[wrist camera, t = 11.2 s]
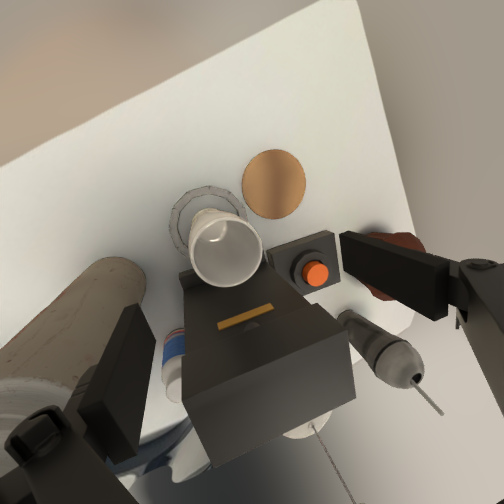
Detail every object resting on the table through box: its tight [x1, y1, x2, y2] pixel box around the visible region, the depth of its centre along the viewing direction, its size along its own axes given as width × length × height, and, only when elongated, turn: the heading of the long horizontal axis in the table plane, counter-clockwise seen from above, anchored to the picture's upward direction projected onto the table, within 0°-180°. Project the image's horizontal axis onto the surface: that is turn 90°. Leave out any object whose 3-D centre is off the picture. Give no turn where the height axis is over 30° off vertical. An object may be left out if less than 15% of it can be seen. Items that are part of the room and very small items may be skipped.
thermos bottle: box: [0, 257, 146, 477], centre depth 21 cm, size 8×8×28 cm
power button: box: [302, 261, 328, 286], centre depth 37 cm, size 4×4×2 cm
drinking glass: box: [188, 208, 263, 287], centre depth 29 cm, size 7×7×15 cm
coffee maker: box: [169, 186, 356, 468], centre depth 27 cm, size 13×22×22 cm, turn 15°
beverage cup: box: [337, 310, 444, 416], centre depth 39 cm, size 7×7×20 cm
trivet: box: [242, 150, 306, 219], centre depth 36 cm, size 10×10×1 cm
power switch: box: [267, 230, 341, 296], centre depth 40 cm, size 11×9×4 cm
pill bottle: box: [161, 329, 185, 403], centre depth 35 cm, size 6×5×10 cm
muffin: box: [355, 232, 426, 301], centre depth 40 cm, size 12×11×10 cm
